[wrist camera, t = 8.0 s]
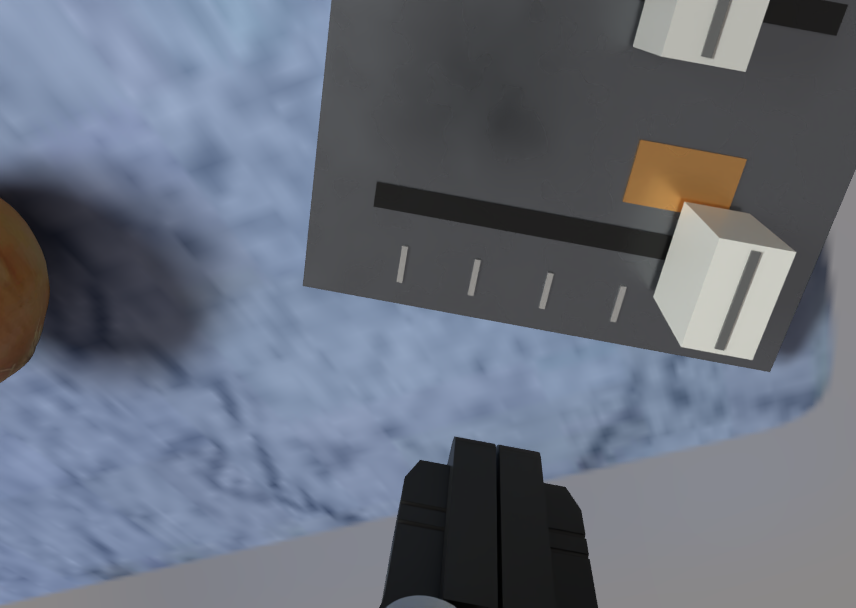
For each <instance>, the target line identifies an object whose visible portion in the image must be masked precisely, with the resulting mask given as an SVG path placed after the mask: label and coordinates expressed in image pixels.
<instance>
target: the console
mask: <svg viewBox="0 0 856 608" xmlns="http://www.w3.org/2000/svg"><path fill="white" fill-rule="evenodd" d="M644 3H645V0H332V2H331V12H330V22H329V32H328V42H327V52H326V62H325V72H324V82H323V91H322V101H321V111H320V121H319V131H318V141H317V151H316V161H315V171H314V181H313V191H312V200H311V210H310V220H309V230H308V240H307V250H306V260H305V270H304V280H303V286H307V287H312V288H318V289H323V290H328V291H334V292H339V293H345V294H350V295H356V296H361V297H366V298H372V299H377V300H383V301H388V302H393V303H399V304H404V305H410V306H415V307H421V308H426V309H431V310H437V311H442V312H448V313H453V314H458V315H464V316H469V317H475V318H480V319H486V320H491V321H496V322H502V323H507V324H513V325H518V326H523V327H529V328H534V329H540V330H545V331H551V332H556V333H561V334H567V335H572V336H578V337H583V338H588V339H594V340H599V341H605V342H610V343H616V344H621V345H626V346H632V347H637V348H643V349H648V350H654V351H659V352H664V353H670V354H675V355H681V356H686V357H691V358H697V359H702V360H708V361H713V362H719V363H724V364H729V365H735V366H740V367H746V368H751V369H756V370H762V371H767V372H770V371H771V368H772V366H773V363H774V361H775V359H776V356H777V354H778V352H779V349H780V347H781V344H782V342H783V340H784V337H785V335H786V333H787V330H788V328H789V326H790V323H791V321H792V318H793V316H794V314H795V311H796V309H797V307H798V304H799V302H800V300H801V297H802V295H803V292H804V290H805V288H806V285H807V283H808V281H809V278H810V276H811V273H812V271H813V269H814V266H815V264H816V262H817V259H818V257H819V255H820V252H821V250H822V247H823V245H824V243H825V240H826V238H827V236H828V233H829V231H830V228H831V226H832V224H833V221H834V219H835V217H836V214H837V212H838V209H839V207H840V205H841V202H842V200H843V198H844V195H845V193H846V190H847V188H848V186H849V183H850V181H851V179H852V176H853V174H854V171H855V169H856V0H770V1H769V4H768V7H767V10H766V13H765V16H764V19H763V22H762V25H761V28H760V31H759V34H758V37H757V40H756V42H755V45H754V48H753V51H752V54H751V57H750V60H749V63H748V66H747V69H746V72H743V71H738V70H732V69H727V68H721V67H716V66H710V65H705V64H699V63H694V62H689V61H683V60H678V59H672V58H667V57H661V56H658V55H655V54H652V53H650V52H647V51H644V50H641V49H638V48H635V47H633V44H634V40H635V36H636V33H637V29H638V25H639V22H640V18H641V14H642V11H643V7H644ZM684 202H690V203H695V204H701V205H706V206H711V207H717V208H722V209H728V210H733V211H739V212H744V213H750V214H751V215H752V216H753V217H754V218H756V219H757V220H758V221H759V222H760V223H762V224H763V225H764V226H765V227H766V228H768V229H769V230H770V231H771V232H773V233H774V234H775V235H776V236H777V237H779V238H780V239H781V240H782V241H783V242H785V243H786V244H787V245H788V246H789V247H791V248H792V249H793V250H794V251H796V254H795V257H794V259H793V262H792V264H791V267H790V269H789V272H788V274H787V276H786V279H785V281H784V284H783V286H782V289H781V291H780V294H779V296H778V299H777V301H776V304H775V306H774V308H773V311H772V313H771V316H770V318H769V321H768V323H767V326H766V328H765V331H764V333H763V335H762V338H761V340H760V343H759V345H758V348H757V350H756V353H755V355H754V358H753V360H749V359H743V358H738V357H733V356H727V355H722V354H716V353H711V352H706V351H700V350H695V349H689V348H684V347H681V346H680V344H679V343H678V341H677V339H676V337H675V335H674V334H673V332H672V330H671V328H670V326H669V325H668V323H667V321H666V319H665V317H664V316H663V314H662V312H661V310H660V308H659V306H658V305H657V303H656V301H655V299H654V297H653V296H654V293H655V290H656V287H657V284H658V281H659V278H660V275H661V272H662V269H663V266H664V263H665V260H666V256H667V253H668V250H669V247H670V244H671V241H672V238H673V235H674V232H675V229H676V226H677V223H678V220H679V217H680V214H681V211H682V208H683V204H684Z"/></svg>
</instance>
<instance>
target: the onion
mask: <svg viewBox="0 0 856 608" xmlns="http://www.w3.org/2000/svg"><path fill="white" fill-rule="evenodd" d="M49 295H50V286H49V278H48V272H47V266H46V261H45V258H44V255H43V252H42V250H41V247H40V245H39V244H38V242H37V240H36V238H35V236H34V234H33V232H32V231H31V229H30V227H29V226H28V224H27V223H26V221H25V220H24V219H23V218H22V217H21V216H20V214H19V213H18V212H17V211H16V210H15V209H14V208H13V207H11V206H10V205H9V204H8V203H7V202H5V201H4V200H3V199H1V198H0V383H1V382H2V381H4V380H5V379H6V378H8V377H10V376H11V375H13V374H14V373H15V372H17V371H18V370H20V369H21V368H22V367H23V366H24V365H25V364H26V363H27V362H28V361H29V360H30V359H31V357H32V356H33V354H34V352H35V348H36V345H37V344H38V342H39V339H40V336H41V333H42V330H43V325H44V320H45V316H46V311H47V307H48V303H49Z"/></svg>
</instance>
